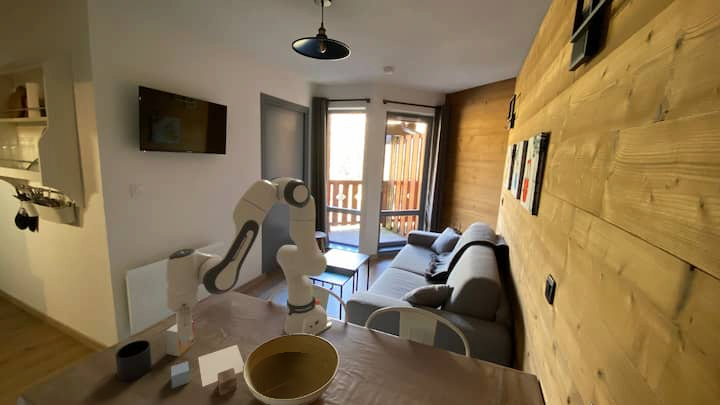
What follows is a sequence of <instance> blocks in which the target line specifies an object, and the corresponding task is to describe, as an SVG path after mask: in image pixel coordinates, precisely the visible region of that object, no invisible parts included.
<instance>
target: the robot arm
mask: <svg viewBox="0 0 720 405" xmlns="http://www.w3.org/2000/svg"><path fill="white" fill-rule="evenodd" d="M276 203H280V204H283V205H288V206H289V210H290V211H289V212H290V214H289V236H290V239H291V241H293V242H294V244H284V245H282V246H281V247H280V248H279V249H278V251H277V253H276V261H277V263H278V264H279V266H280V267H281V269H282V271H283V274H284V277H285V279H286V283H287V299H286V319H285V323H284V326H283V331H284V333H285V334H286V335H288V334H294V333H307V334H312V335H314V336H316V335H318V334H320V333H321V332H323V331H324V330H327V329H328V328H330V327H332V324H333V323H332V322H333V321H332V319H331V317H330V316H329V315H328V314H327V312H326V310H325V308H324V307H323V306H322V305H320V302H321V301H320V300H319V299H318V298H317V299H316V297H315V296H313V289H314V286H313V282H312V280H311V279H310V277H321V275H323V273H324V272H325V271H326V270H327V269H326V268H327V266H328V265H327V262H328V261H327V258H326V256H325V255H324V254H323V253H322V250H321V249H320V247H319V244H318V241H317V238H316V203H315V199H314V197H313V196H312V195H311V192H310V188H309V186H308V185H307V183H305V182H304V181H303V180H300V179H297V178H293V177H288V176H287V177H286V176H285V177H282V176H276V177H273V178H271V179H269V180H266V179H258V180H256V181H255V182H253V184H251V186H249V188H248V189H247V190H246V191H245V192H244V194H243V195H242V196H241V197H240V198H239V200H238V202H237V203H236V205H235V207H234V209H233V212H232V220H233V222H234V227H235V234H234V235H235V236H234V238H233V241H232V242H231V244H230V245H229V247H228V250H227V251H226V252H225V255H224V256H223V257H222V256H220V255H218V254H216V253H215V254H214V253H205V252H201V251H198V250H196V249H194V248H184V249H179V250H176V251H175V252H173V253H171V255H170V256H169V257H168V260H167V263H166V274H165V277H166V279H165V280H166V284H167V289H166V307H167V309H170V310H171V312H173V313H175V319H176V324H177V332H178V339H179V340H181V346H186V345H187V344H188V338H191V337H192V321H193V318H192V316H193V315H192V309H194V307H195V306H196V304H197V303H198V302H199V298H200V297H199V295H200V294H199V289H200V288H199V286H200V285H203V286H204V289H205V290H206V291H207V292H208V293H209V294H211V295H216V296H219V295H223V294H226V293H228V292H229V291H231V290H232V289H233V288H234V287H235V286H236V285H237V283H238V280H239V277H240V272H241V269H242V266H243V264H244V262H245V260H246V258H247V256H248V254H249V252H250V250H251V249H252V247H253V246H254V242H255V241H256V239H257V237H258V234H259V231H260V227H261V226H262V224H263V222H264V220H265V218H266V217H267V215H268V213H269V212H270V210H271V208H272V207H273V206H274V205H275V204H276ZM327 317H328V318H327Z"/></svg>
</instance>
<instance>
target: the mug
mask: <svg viewBox="0 0 720 405" xmlns="http://www.w3.org/2000/svg"><path fill="white" fill-rule="evenodd" d="M151 350H152V349H151V343H150V341H148V340H146V339H145V340H143V339H142V340H136V341H131V342H128V343H127V344H125V345H123V346H121V347H120V348H119V349H118V350H117V351H116V352H115V361H116V362H115V363H116V373H117V379H118V380H119V381H121V382H124V383H125V382H131V381H135V380H138V379H140V378H141V377H143V376H145V375H146V374H147V373H148V372H150V371H151V369H152V366H153V364H152V351H151Z"/></svg>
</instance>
